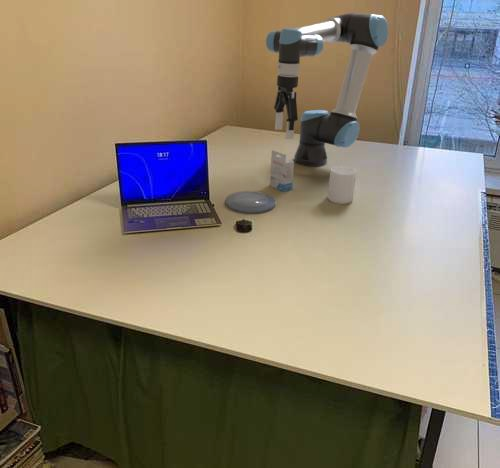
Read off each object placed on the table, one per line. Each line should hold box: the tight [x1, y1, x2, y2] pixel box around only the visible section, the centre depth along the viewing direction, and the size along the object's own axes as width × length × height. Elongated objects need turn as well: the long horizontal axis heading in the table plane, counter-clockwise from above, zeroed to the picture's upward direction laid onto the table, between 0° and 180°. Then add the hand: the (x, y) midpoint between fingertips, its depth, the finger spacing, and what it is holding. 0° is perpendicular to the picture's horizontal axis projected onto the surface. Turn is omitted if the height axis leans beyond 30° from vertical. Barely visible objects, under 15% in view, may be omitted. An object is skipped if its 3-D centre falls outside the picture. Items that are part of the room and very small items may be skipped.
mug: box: [327, 165, 357, 205], centre depth 181 cm, size 10×12×12 cm
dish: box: [225, 190, 276, 215], centre depth 176 cm, size 18×18×1 cm
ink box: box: [269, 149, 295, 192], centre depth 189 cm, size 8×5×15 cm, turn 39°
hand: (283, 133), depth 182 cm, fingers open, 13 cm apart
